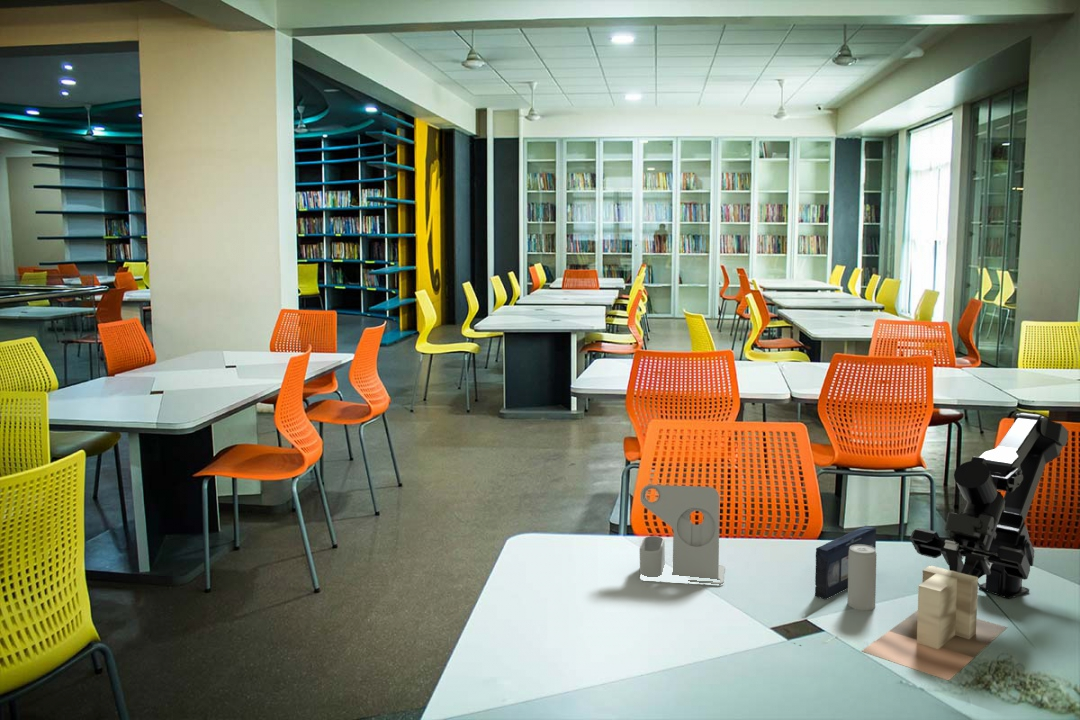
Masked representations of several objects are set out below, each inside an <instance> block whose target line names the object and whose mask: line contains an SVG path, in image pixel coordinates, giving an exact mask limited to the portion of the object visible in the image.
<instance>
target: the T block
mask: <svg viewBox="0 0 1080 720" xmlns="http://www.w3.org/2000/svg"><path fill="white" fill-rule="evenodd" d="M978 583H979V579H978V577H975V576H971V575H967V574H963V573H959V572H955V571H951V570H950V569H947V568H943V567H938V566H934V565H928V566H927V567H925V568H924V569H923V570H922V583H920V584H919V585H918V588H917V589H918V590H917V592H918V595H917V598H918V599H917V610H918V621H917V643H919V644H923V645H926V646H929V647H932V648H935V649H939V648H940V647H942V646H943V645H944V644H945V643H946V642H948V641H949V640H950V639H951V638H952V637H954V636H955V635H956V636H960V637H963V638H966V639H970V638H971V637H972V636H973V635H975V634H976V619H978V617H977V615H978V593H979V592H978V591H979V584H978Z"/></svg>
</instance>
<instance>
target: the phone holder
mask: <svg viewBox="0 0 1080 720" xmlns="http://www.w3.org/2000/svg"><path fill="white" fill-rule="evenodd" d="M651 489H653V490H655V491H657V493H658V497H657V499H656V500H655V501H649V500H648V498H647V497H646V495H647V492H648V491H649V490H651ZM720 497H721V496H720V494H719V491H718V490H717V489H716V488H715V487H712V486H703V485H702V486H700V485H699V486H698V485H697V486H696V485H671V484H668V485H667V484H647V485H645V486H643V488H642V489H641V491H640V503H641V504H642V506H644V508H646V509H647V510H648V511H649V512H650V513H652V514H653V515H655V516H656V517H658V518H659V519H660V520H661V521H662V522H664V523H665V524H666V525H667V526H670V527H671V529H672V531H673V534H672V535H673V538H672V562H673V572H672V575H679V576H690V577H699V578H710V579H717V580H720V582H713V581H697V580H688V581H690V582H699V583H711V584H719V585H721V584H723V583H724V584H725V577H724V574H725V573H726V566H724V565H723V564H720V561H719V560H720V556H719V555H720ZM693 512H700V513H701V514H702V517H703V520H702V522H701V523H699V524H694V523H693V522H692V520H691V518H690V517H691V514H693ZM665 545H666V544H665V539H664V538H663V537H661V536H657V535H651V536H646V537H644V538H643V539H642V542H641V544H640V547H639V574H640V573H641V574H642V575H644V576H647V577H658V576H660V575H662V572H663V568H664V565H665V562H666V559H665V557H666V556H665V555H666V554H665V553H666V552H665ZM725 575H726V574H725Z"/></svg>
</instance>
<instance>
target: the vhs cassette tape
mask: <svg viewBox="0 0 1080 720" xmlns="http://www.w3.org/2000/svg"><path fill="white" fill-rule="evenodd" d="M876 539H877V527H874V526H870V525H863V526H862V527H859V528H857V529H855V530H852V531H851V532H848V533H846V534H844V535H843V536H839V537H837V538H835V539H833V540H830V541H829V542H827V543H825V544H823V545H821V546H819V547H816V549H815V573H814V575H815V577H814V578H815V579H814V581H815V583H814V584H815V587H814V589H815V591H814V596H815V597H816V596H817V597H816V598H820V597H821V599H823V600H828V599H830V598H832V597H834V596H836V595H838V594H840V593H842V592H844V591H846V590H848V558H849V550H850V549H849V547H850V546H852V545H856V544H862V545H869V546H872V547H874V548H875V549H876V546H877V540H876ZM845 589H846V590H845ZM843 590H844V591H843ZM841 591H842V592H841ZM839 592H840V593H839ZM837 593H838V594H837ZM835 594H836V595H835ZM831 596H832V597H831ZM829 597H830V598H829ZM827 598H828V599H827Z"/></svg>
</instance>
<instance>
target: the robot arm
mask: <svg viewBox="0 0 1080 720" xmlns="http://www.w3.org/2000/svg"><path fill="white" fill-rule="evenodd" d="M1068 439H1069V431H1068V429H1067V428H1066V426H1064V425H1063V423H1061V422H1057V421H1053V420H1050V419H1049V418H1047V417H1046V416H1043V415H1042V414H1037V413H1035V414H1033V413H1026V412H1020V413H1016V415H1015V416H1014V420H1013V423H1012V425H1011V426H1010V428H1009V429H1008V431H1007V432H1006V433H1005V435H1004V436H1003V437H1002V439H1001V441H1000V442H999V444H998V445H997V447H995V448H994V449H993V448H992V449H990V450H986V451H984V452H983V453H982V454H981V455H980V456H974V455H973V456H972V458H971V460H970V461H966V462H963V463H961V464H960V465H959V466H958V467H957V468H955V470H954V473H953V477H954V478H953V479H954V480H955V483H956V485H957V487H958V489H959V491H960V494H961V496H962V499H964V500H965V501H966V505H965V508H964V509H963V512H962V511H961V512H960V513H954V512H950V511H949V512H948V513H947V518H946V523H945V528H944V531H946V532H947V531H948V532H949V534H948V536H949V538H950V539H952V540H953V541H952V540H948V539H945V540H944V539H941V536H940V535H939V533H938V531H934V530H929V529H925V528H920V527H918V528H917V527H916V528H915V529H914V530H912V531H911V534H910V537H909V540H910V542H911V544H912V546H913V548H914V549H915V551H916V553H917V554H918V555H921V556H925V557H928V558H932V559H938V558H939V557H941V556H942V557H943V558H944V559H943V560H945V563H946V564H947V565H948V570H951V571H955V572H959V573H963V574H967V575H971V576H975V577H978V580H979V579H981V578H982V577H983V576H985V582H983V583H981V584H978V589H982V590H984V591H988V592H990V593H992V594H995V595H998V596H1000V597H1004V598H1006V599H1013V598H1015V597H1019V596H1021V595H1023V594H1027V593H1030V588H1028V587H1025V586H1023V585H1022V584H1023V580H1024V581H1025V580H1028V579H1029V574H1030V572H1031V567H1033V566H1034V561H1035V560H1034V558H1035V549H1034V547H1033V544H1032V542H1031V539H1030V534H1029V533H1028V532H1029V531H1028V529H1027V525H1026V522H1025V521H1026V520H1027V519H1026V518H1027V515H1028V512H1029V510H1030V508H1031V505H1032V502H1033V499H1034V497H1035V494H1036V491H1037V489H1038V486H1039V484H1040V481H1041V479H1042V475H1043V474H1044V469H1045V467H1046V465H1047V464H1048V463H1051V461H1053V460H1055V459H1057V458H1058V457H1059V456H1060V453H1062V452H1061V451H1062V450H1063V447H1065V446H1066V445H1067V443H1068ZM1000 491H1002V492H1005V494H1004V496H1003V494H1002V493H1001V492H1000ZM963 559H964V561H963Z"/></svg>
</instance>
